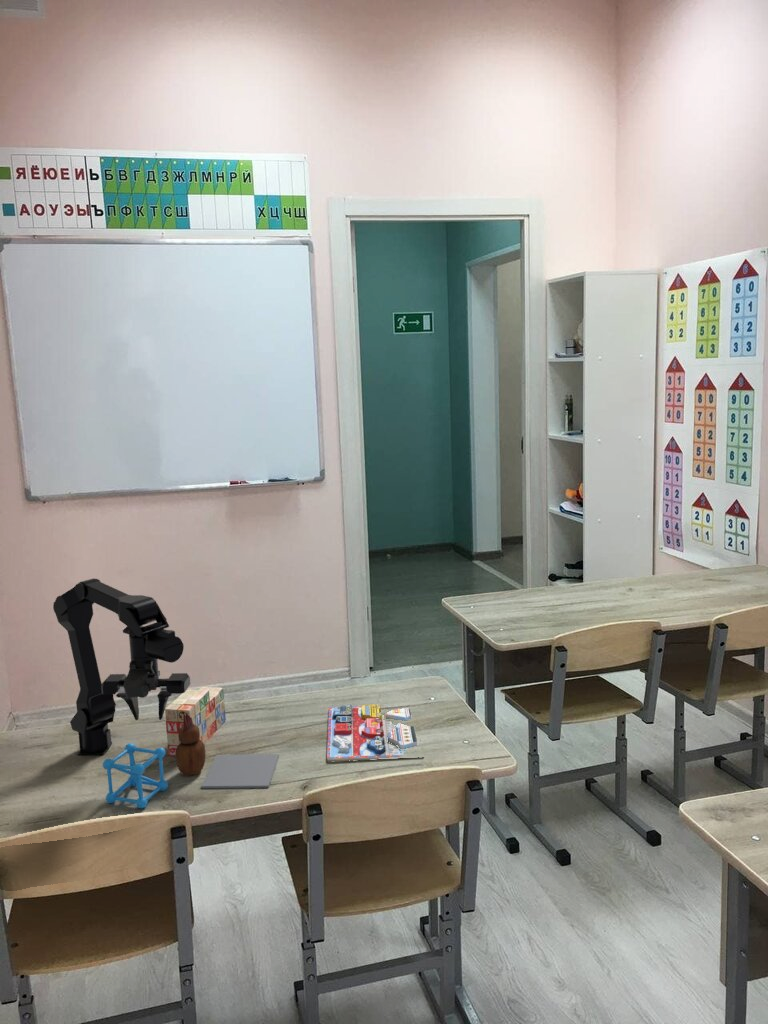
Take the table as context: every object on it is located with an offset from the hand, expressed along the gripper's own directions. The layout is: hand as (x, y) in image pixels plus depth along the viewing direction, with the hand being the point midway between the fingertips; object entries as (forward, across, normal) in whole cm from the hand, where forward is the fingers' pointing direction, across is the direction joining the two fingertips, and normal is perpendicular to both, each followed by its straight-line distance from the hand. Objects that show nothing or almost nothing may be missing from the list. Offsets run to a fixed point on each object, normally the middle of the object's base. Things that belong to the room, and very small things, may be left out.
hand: (149, 719), depth 190 cm
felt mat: (+13, +20, 0) cm, 24 cm away
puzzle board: (+14, +50, +20) cm, 56 cm away
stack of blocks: (+13, +6, +18) cm, 23 cm away
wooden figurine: (+13, +9, 0) cm, 16 cm away
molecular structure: (+13, 0, -11) cm, 17 cm away
